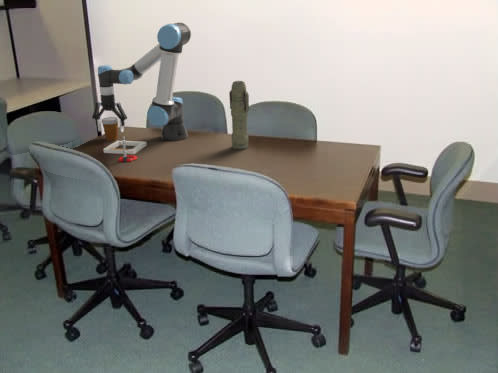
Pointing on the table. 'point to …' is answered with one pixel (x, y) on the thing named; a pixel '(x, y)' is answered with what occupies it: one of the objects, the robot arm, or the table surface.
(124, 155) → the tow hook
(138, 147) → the holder frame
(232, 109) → the olive green statue
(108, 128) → the disposable coffee cup
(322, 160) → the table surface
